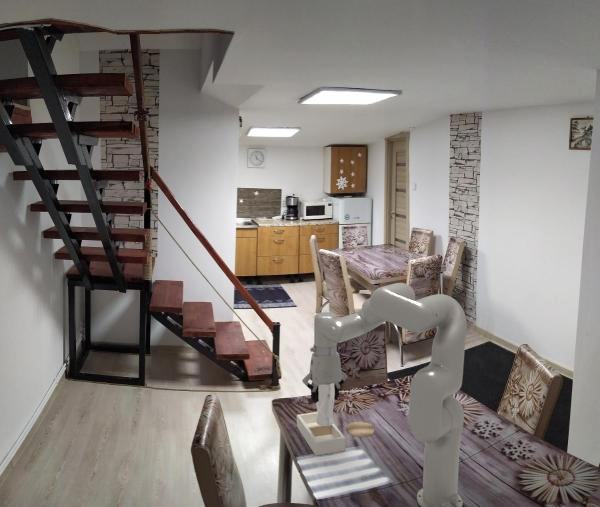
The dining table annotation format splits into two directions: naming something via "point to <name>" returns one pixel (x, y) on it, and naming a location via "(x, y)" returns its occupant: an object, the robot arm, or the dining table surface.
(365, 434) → the cork trivet
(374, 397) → the dining table surface
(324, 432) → the cream divided tray
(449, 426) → the robot arm
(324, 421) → the beer glass
